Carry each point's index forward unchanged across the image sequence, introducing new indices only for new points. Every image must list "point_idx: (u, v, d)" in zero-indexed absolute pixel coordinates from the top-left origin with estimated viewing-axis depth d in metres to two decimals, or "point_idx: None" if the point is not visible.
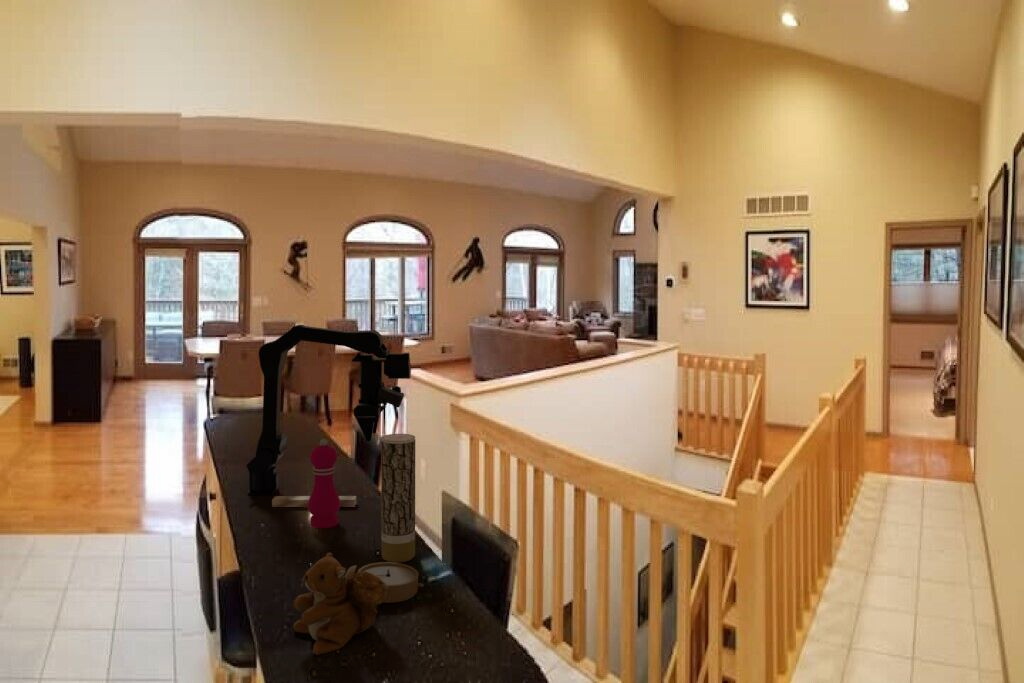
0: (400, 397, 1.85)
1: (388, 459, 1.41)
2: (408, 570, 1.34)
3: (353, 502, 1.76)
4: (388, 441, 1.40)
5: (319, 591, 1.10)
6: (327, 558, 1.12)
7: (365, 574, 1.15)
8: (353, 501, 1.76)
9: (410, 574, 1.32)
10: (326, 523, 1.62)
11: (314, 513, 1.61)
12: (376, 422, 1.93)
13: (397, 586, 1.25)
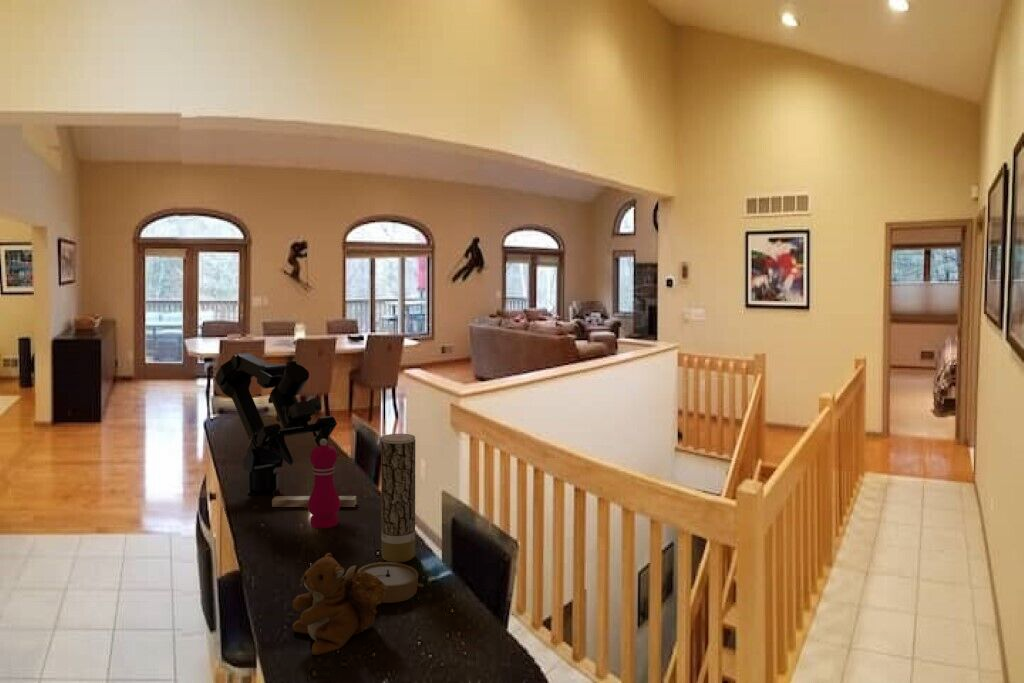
0: (296, 404, 1.68)
1: (388, 459, 1.41)
2: (408, 570, 1.34)
3: (353, 502, 1.76)
4: (388, 441, 1.40)
5: (317, 591, 1.10)
6: (326, 558, 1.12)
7: (364, 574, 1.14)
8: (353, 501, 1.76)
9: (410, 574, 1.32)
10: (326, 523, 1.62)
11: (314, 513, 1.61)
12: None
13: (397, 586, 1.25)
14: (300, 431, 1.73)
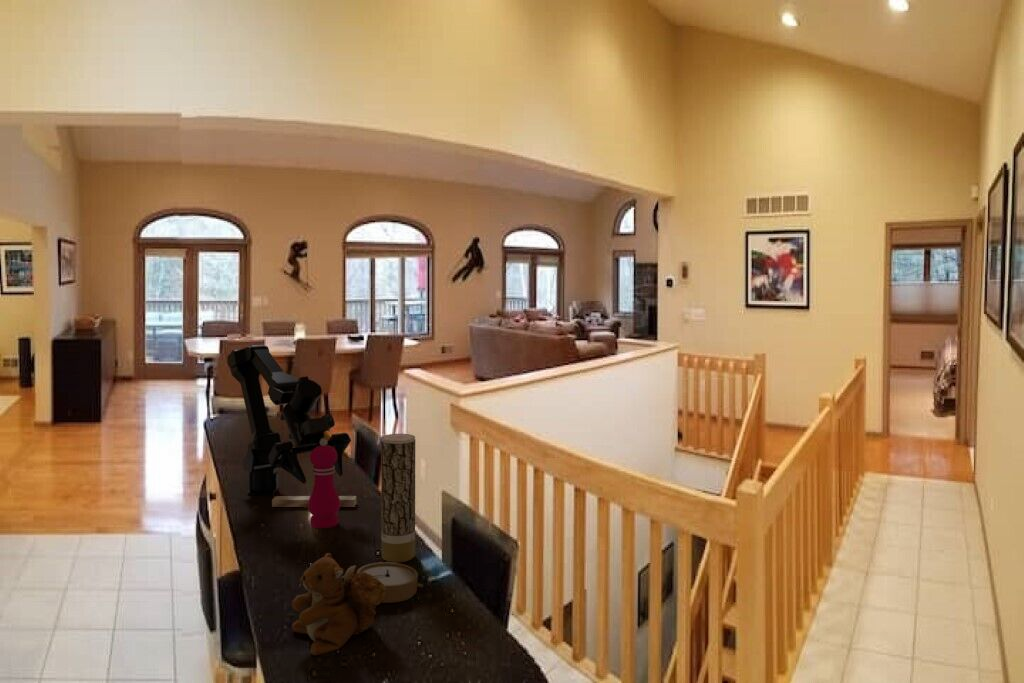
0: (308, 421, 1.63)
1: (388, 459, 1.41)
2: (407, 570, 1.34)
3: (353, 502, 1.76)
4: (388, 441, 1.40)
5: (316, 591, 1.10)
6: (325, 558, 1.12)
7: (363, 575, 1.14)
8: (353, 501, 1.76)
9: (409, 574, 1.32)
10: (326, 523, 1.62)
11: (314, 513, 1.61)
12: (337, 462, 1.68)
13: (396, 586, 1.25)
14: (313, 448, 1.67)
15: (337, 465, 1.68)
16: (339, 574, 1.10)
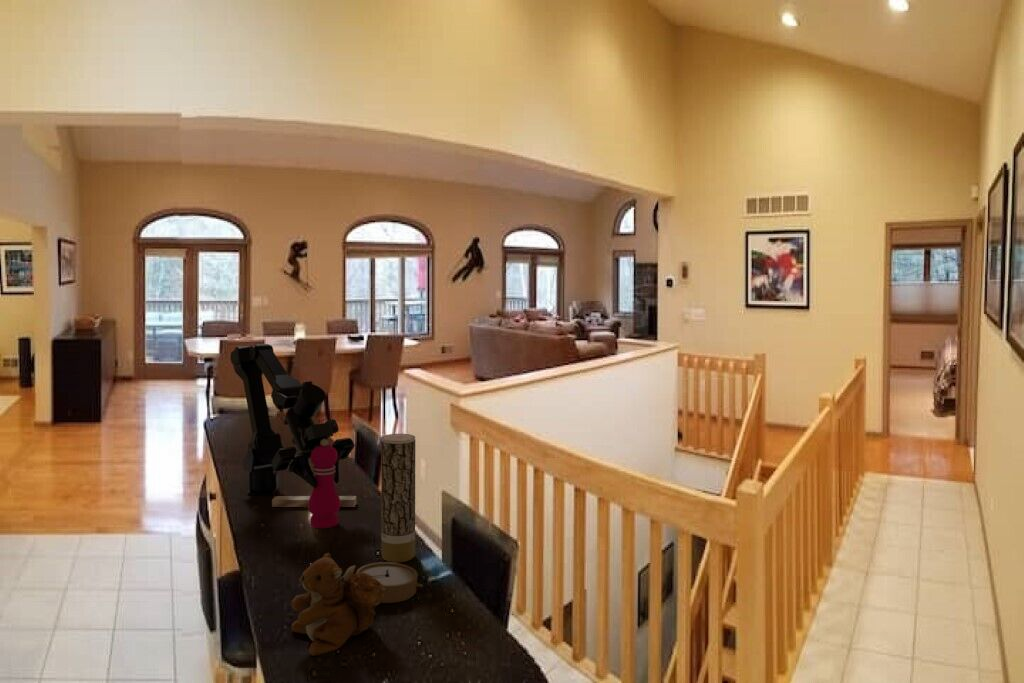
0: (312, 426, 1.61)
1: (388, 459, 1.41)
2: (407, 570, 1.34)
3: (353, 502, 1.76)
4: (388, 441, 1.40)
5: (315, 591, 1.09)
6: (324, 559, 1.12)
7: (363, 575, 1.14)
8: (353, 501, 1.76)
9: (409, 574, 1.32)
10: (326, 523, 1.62)
11: (314, 513, 1.61)
12: None
13: (396, 586, 1.25)
14: (309, 455, 1.65)
15: None
16: (338, 574, 1.10)
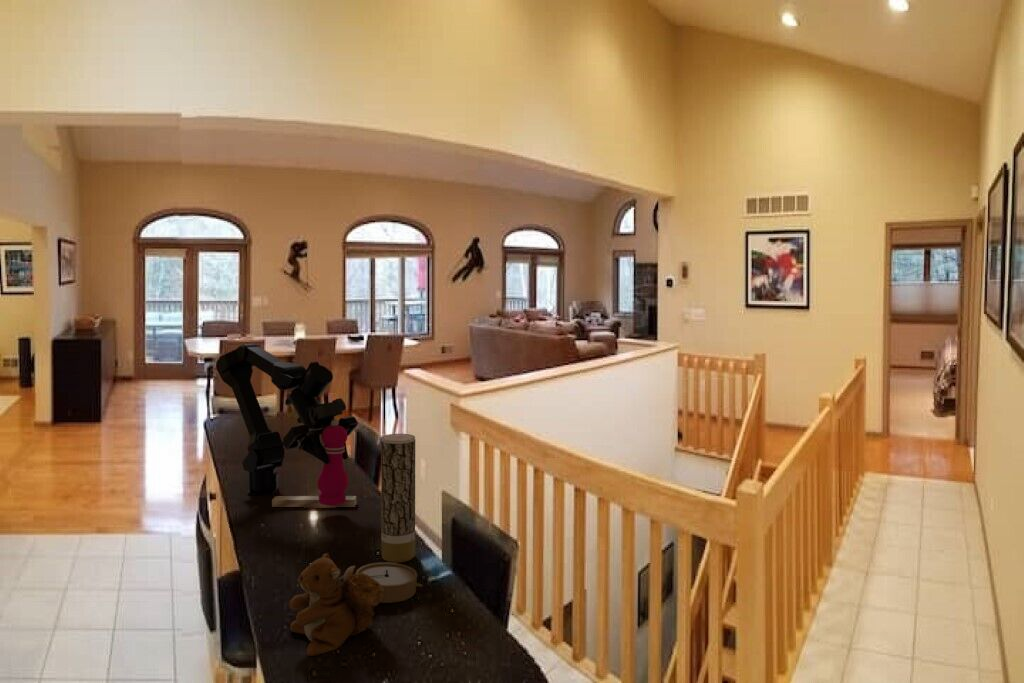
0: (324, 405, 1.67)
1: (388, 459, 1.41)
2: (407, 570, 1.34)
3: (353, 502, 1.76)
4: (388, 441, 1.40)
5: (313, 591, 1.09)
6: (323, 559, 1.12)
7: (361, 576, 1.14)
8: (353, 501, 1.76)
9: (408, 574, 1.32)
10: (336, 500, 1.68)
11: (325, 490, 1.67)
12: None
13: (395, 586, 1.25)
14: None
15: None
16: (336, 575, 1.10)
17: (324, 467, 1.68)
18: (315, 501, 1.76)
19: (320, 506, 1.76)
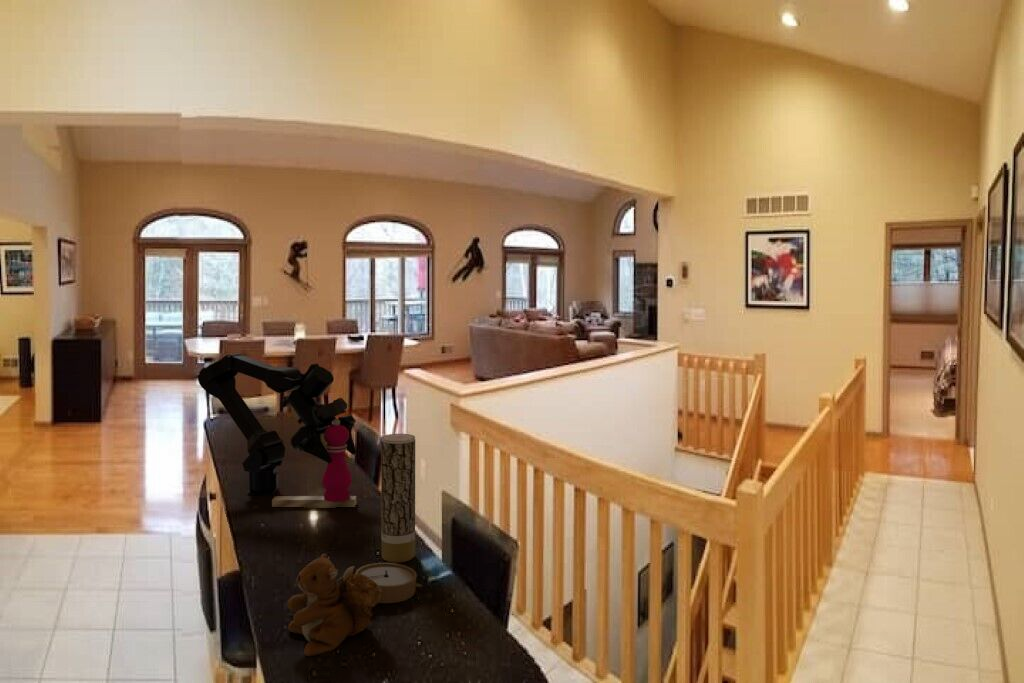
0: (329, 404, 1.73)
1: (388, 459, 1.41)
2: (406, 570, 1.33)
3: (353, 502, 1.76)
4: (388, 441, 1.40)
5: (311, 592, 1.09)
6: (320, 559, 1.12)
7: (359, 576, 1.14)
8: (353, 501, 1.76)
9: (408, 574, 1.32)
10: (343, 496, 1.75)
11: (332, 488, 1.73)
12: (350, 442, 1.80)
13: (395, 586, 1.25)
14: None
15: (349, 445, 1.80)
16: (334, 575, 1.10)
17: (329, 466, 1.75)
18: (315, 501, 1.76)
19: (320, 506, 1.76)
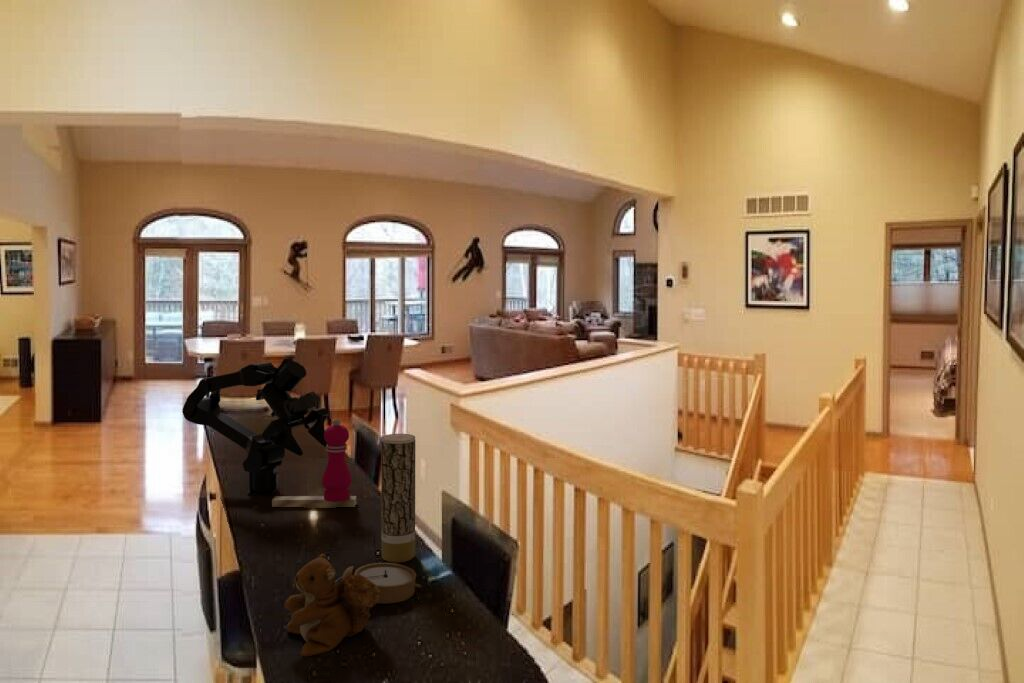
0: (300, 398, 1.77)
1: (388, 459, 1.41)
2: (405, 571, 1.33)
3: (353, 502, 1.76)
4: (388, 441, 1.40)
5: (308, 592, 1.09)
6: (318, 559, 1.11)
7: (357, 577, 1.14)
8: (353, 501, 1.76)
9: (407, 574, 1.32)
10: (343, 496, 1.75)
11: (332, 488, 1.73)
12: (322, 435, 1.84)
13: (394, 587, 1.25)
14: (299, 424, 1.82)
15: (322, 437, 1.84)
16: (331, 575, 1.10)
17: (329, 466, 1.75)
18: (315, 501, 1.76)
19: (320, 506, 1.76)
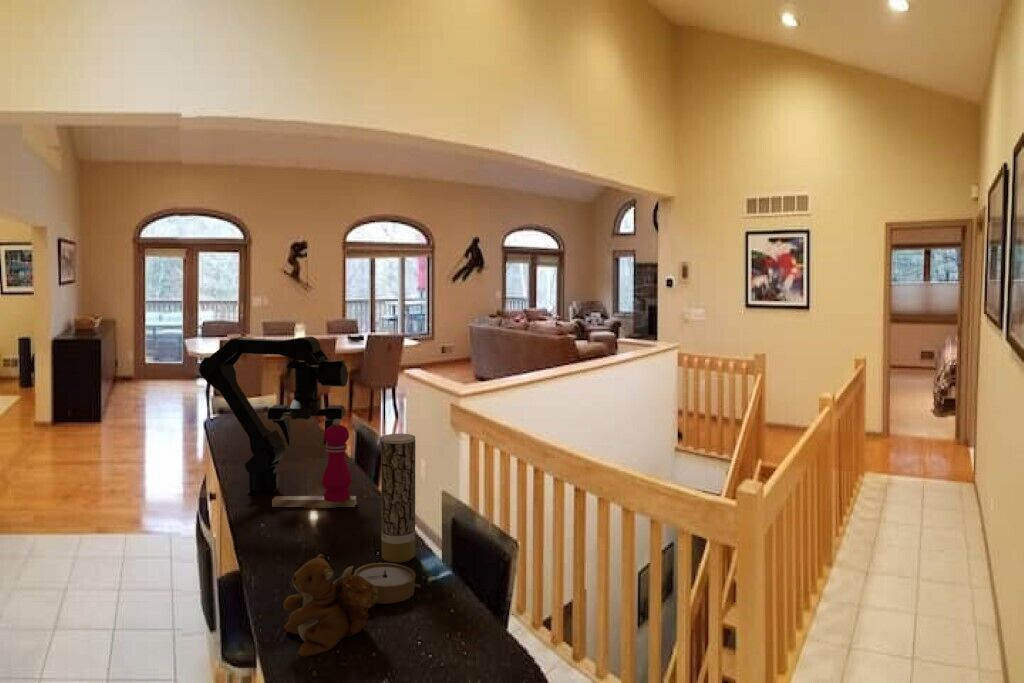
0: (290, 408, 1.77)
1: (388, 459, 1.41)
2: (405, 571, 1.33)
3: (353, 502, 1.76)
4: (388, 441, 1.40)
5: (306, 592, 1.09)
6: (316, 559, 1.11)
7: (355, 577, 1.13)
8: (353, 501, 1.76)
9: (407, 574, 1.32)
10: (343, 496, 1.75)
11: (332, 488, 1.73)
12: None
13: (394, 587, 1.25)
14: None
15: None
16: (329, 576, 1.09)
17: (329, 466, 1.75)
18: (315, 501, 1.76)
19: (320, 506, 1.76)
